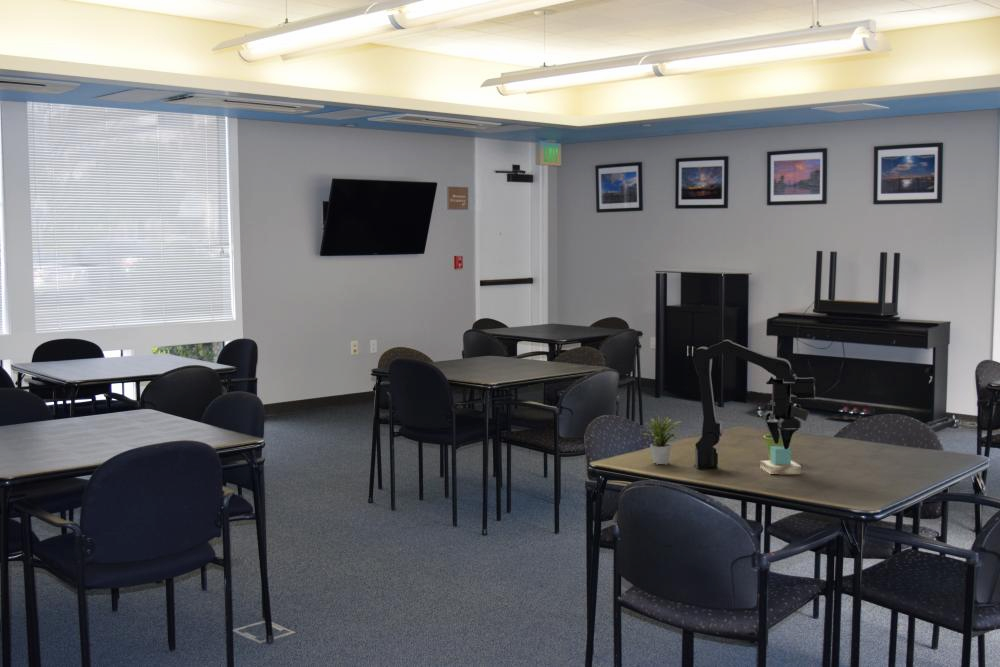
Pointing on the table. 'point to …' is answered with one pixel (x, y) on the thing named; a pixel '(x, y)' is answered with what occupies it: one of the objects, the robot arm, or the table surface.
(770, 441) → the plant pot
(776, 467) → the cream square tray
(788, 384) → the robot arm
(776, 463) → the teal cube
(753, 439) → the table surface
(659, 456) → the house plant
